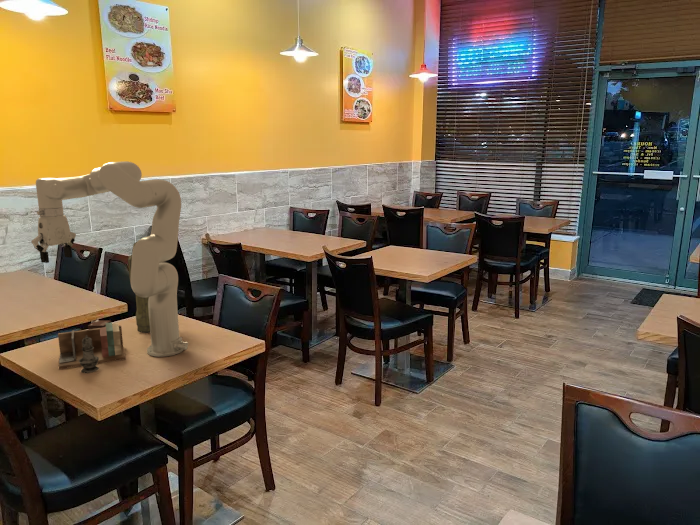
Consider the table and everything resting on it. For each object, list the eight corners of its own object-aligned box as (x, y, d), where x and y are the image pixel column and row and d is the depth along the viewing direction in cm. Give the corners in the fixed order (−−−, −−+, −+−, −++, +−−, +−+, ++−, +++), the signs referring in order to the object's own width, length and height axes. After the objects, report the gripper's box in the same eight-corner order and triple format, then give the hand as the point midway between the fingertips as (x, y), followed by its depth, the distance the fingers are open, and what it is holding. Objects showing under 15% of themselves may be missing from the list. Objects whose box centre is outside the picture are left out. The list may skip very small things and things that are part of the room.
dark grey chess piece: (104, 367, 177) (100, 333, 174) (90, 374, 172) (86, 339, 169) (89, 365, 179) (86, 330, 176) (75, 372, 173) (71, 336, 171)
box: (105, 344, 197) (103, 325, 195) (89, 344, 197) (87, 325, 195) (113, 338, 203) (111, 320, 201) (97, 338, 203) (95, 320, 201)
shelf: (123, 346, 195) (120, 319, 193) (125, 359, 184) (122, 331, 182) (60, 355, 187) (57, 327, 185) (59, 369, 175) (55, 340, 173)
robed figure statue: (168, 327, 216) (162, 240, 208) (143, 335, 206) (135, 245, 198) (154, 322, 220) (148, 238, 213) (129, 331, 211) (121, 242, 203)
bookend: (76, 351, 187) (74, 330, 186) (76, 361, 179) (73, 338, 178) (60, 354, 185) (57, 332, 183) (59, 363, 177) (56, 340, 176)
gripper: (37, 216, 183) (43, 265, 187) (79, 210, 199) (84, 256, 202) (21, 215, 186) (27, 263, 189) (64, 209, 201) (69, 254, 205)
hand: (57, 259), depth 196 cm, fingers open, 9 cm apart
